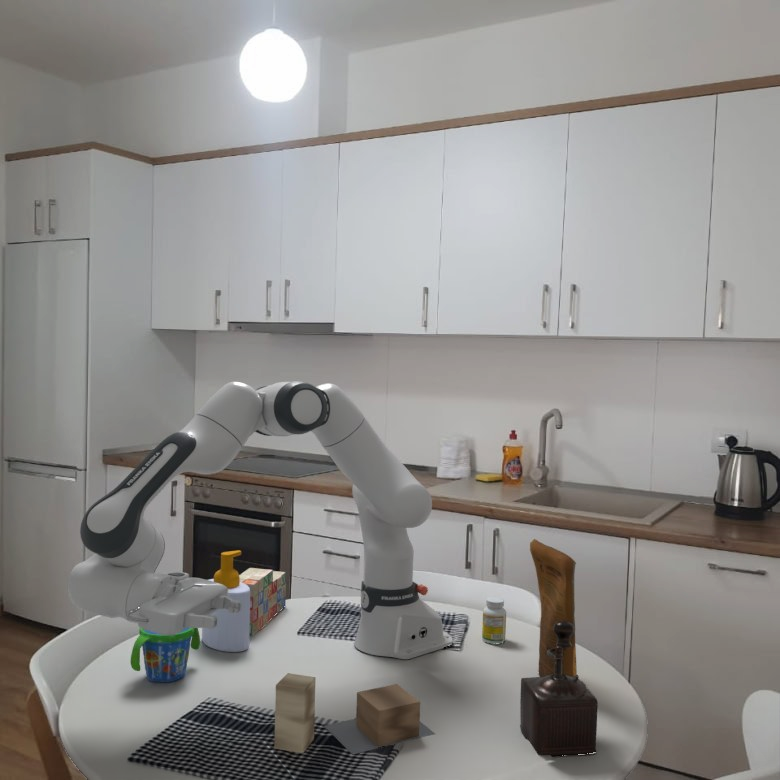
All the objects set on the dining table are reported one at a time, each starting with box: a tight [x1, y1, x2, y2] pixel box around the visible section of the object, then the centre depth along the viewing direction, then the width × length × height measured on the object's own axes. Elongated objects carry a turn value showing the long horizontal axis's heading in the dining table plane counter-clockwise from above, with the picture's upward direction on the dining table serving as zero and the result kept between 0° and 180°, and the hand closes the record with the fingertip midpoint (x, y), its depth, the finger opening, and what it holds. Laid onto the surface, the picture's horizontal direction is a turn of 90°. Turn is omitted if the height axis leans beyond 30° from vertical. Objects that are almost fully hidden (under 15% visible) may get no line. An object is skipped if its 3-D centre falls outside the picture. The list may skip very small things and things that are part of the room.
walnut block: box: [355, 683, 421, 746], centre depth 137 cm, size 8×8×6 cm
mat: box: [323, 718, 436, 756], centre depth 137 cm, size 16×11×1 cm
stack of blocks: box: [239, 567, 287, 636], centre depth 192 cm, size 21×6×12 cm, turn 167°
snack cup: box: [130, 627, 201, 683], centre depth 158 cm, size 16×10×10 cm
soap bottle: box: [201, 549, 250, 653], centre depth 176 cm, size 13×8×20 cm, turn 49°
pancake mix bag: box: [529, 538, 578, 677], centre depth 160 cm, size 7×19×28 cm, turn 8°
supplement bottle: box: [481, 596, 507, 645], centre depth 183 cm, size 5×5×10 cm
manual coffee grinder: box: [519, 621, 599, 758], centre depth 138 cm, size 16×11×18 cm
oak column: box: [273, 672, 317, 754], centre depth 131 cm, size 5×5×11 cm
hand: (228, 615), depth 134 cm, fingers open, 8 cm apart
